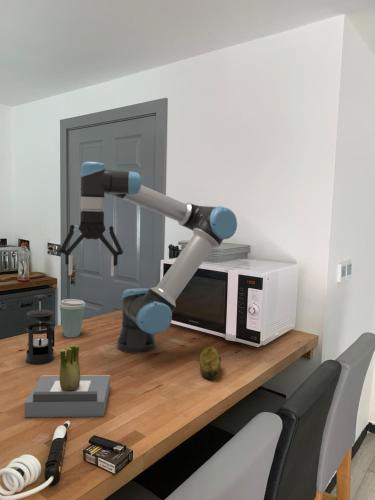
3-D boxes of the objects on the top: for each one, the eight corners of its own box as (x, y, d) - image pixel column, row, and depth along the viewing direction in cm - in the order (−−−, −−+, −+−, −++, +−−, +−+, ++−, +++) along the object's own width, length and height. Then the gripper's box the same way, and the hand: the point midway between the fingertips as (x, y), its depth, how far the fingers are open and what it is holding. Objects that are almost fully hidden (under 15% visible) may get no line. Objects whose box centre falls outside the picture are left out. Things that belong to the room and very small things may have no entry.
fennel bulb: (60, 394, 106) (60, 350, 105) (57, 386, 111) (58, 344, 109) (82, 390, 109) (82, 348, 107) (79, 383, 113) (79, 342, 112)
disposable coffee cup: (74, 329, 174) (74, 296, 172) (91, 335, 167) (91, 300, 166) (53, 335, 165) (53, 300, 164) (70, 341, 159) (70, 304, 157)
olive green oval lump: (191, 378, 129) (192, 354, 128) (202, 364, 141) (203, 342, 140) (216, 383, 126) (217, 358, 126) (225, 368, 139) (226, 346, 138)
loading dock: (109, 387, 120) (110, 368, 120) (103, 416, 104) (104, 394, 103) (41, 387, 118) (41, 368, 118) (24, 417, 102) (24, 395, 101)
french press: (39, 367, 133) (39, 300, 130) (18, 362, 136) (17, 296, 134) (63, 355, 144) (63, 293, 141) (42, 351, 147) (42, 290, 145)
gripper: (131, 211, 134) (130, 273, 136) (55, 208, 132) (55, 272, 134) (130, 212, 127) (129, 277, 129) (50, 209, 124) (50, 276, 126)
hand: (91, 275), depth 131 cm, fingers open, 13 cm apart
